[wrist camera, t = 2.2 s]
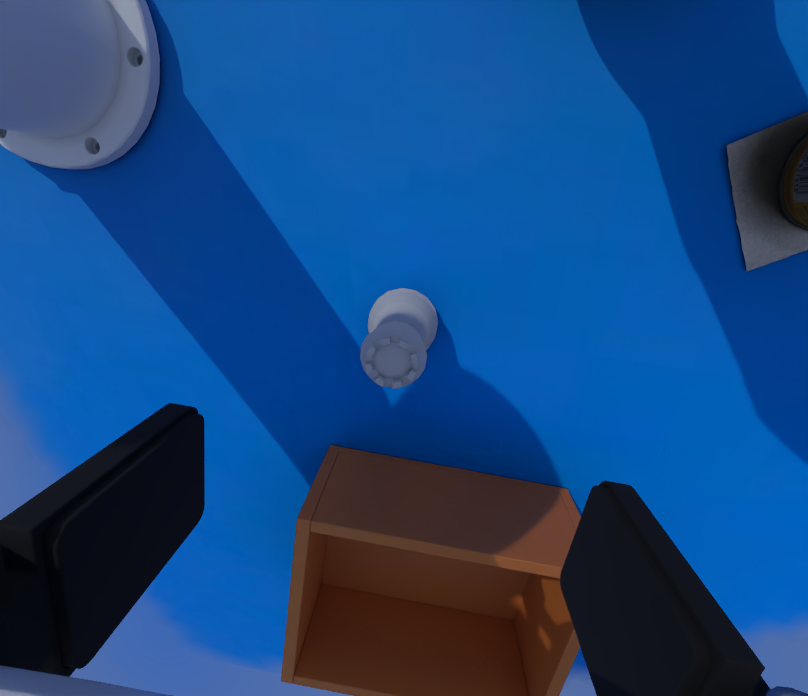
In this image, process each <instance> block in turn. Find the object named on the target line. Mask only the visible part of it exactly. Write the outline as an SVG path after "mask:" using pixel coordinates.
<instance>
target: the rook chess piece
mask: <svg viewBox="0 0 808 696" xmlns="http://www.w3.org/2000/svg"><path fill="white" fill-rule="evenodd" d="M437 326H438V318H437V314H436V309H435V308H434V306H433V305H432V303H431V302H430V301H429V299H428V298H427V297H426V296H424V295H422V294H421V293H419V292H417V291H416V290H411V289H405V288H399V289H395V290H391V291H388V292H386V293H385V294H383V295H382V296H381V297H379V298H378V299H377V300H376V302H375V304H374V305H373V307H372V309H371V310H370V314H369V320H368V330H369V334H368V335H367V337H366V338H365V340H364V342H363V343H362V345H361V353H360V360H361V363H362V366H363V370H364V371H365V372H366V373H367V375H368V376H369V377H370V378H371V379H372V380H373V381H374V383H376V384H378V385H380V386H381V387H383V386H387V387H392V388H393V389H395V388H400V387H403V386H407V385H409V384H411V383H412V382H414V381H415V380H417V379H418V378H419V377H420V375H421V374H422V372H423V371H424V369H425V366H426V360H427V353H426V350H427V349H428V348H429V346H430V345H431V343H432V342H433V340H434V339H435V335H436V332H437Z"/></svg>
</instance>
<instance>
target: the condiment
mask: <svg viewBox="0 0 808 696" xmlns="http://www.w3.org/2000/svg"><path fill="white" fill-rule="evenodd" d="M727 153H728V159H729V162H728V167H729V171H730V179H731V184H732V194H733V199H734V205H735V210H736V216H737V220H736V223H737V225H738V228H739V231H740V236H741V244H742V251H743V253H744V258H745V263H746V269H747V271H750V270H753V269H755V268H759V267H762V266H764V265H767V264H769V263H772V262H775V261H778V260H781V259H784V258H787V257H789V256H791V255H794V254H797V253H800V252H803V251H806V250H808V111H807V112H805V113H802V114H800V115H798V116H795V117H793V118H791V119H788V120H785V121H783V122H781V123H778V124H776V125H774V126H771V127H769V128H766V129H764V130H762V131H759V132H757V133H755V134H752V135H750V136H748V137H745V138H743V139H740V140H738V141H736V142H733V143H731V144H728V145H727Z"/></svg>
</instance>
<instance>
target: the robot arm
mask: <svg viewBox="0 0 808 696" xmlns="http://www.w3.org/2000/svg"><path fill="white" fill-rule="evenodd" d="M159 85H160V56H159V49H158V42H157V35H156V31H155V28H154V24H153V21H152V17H151V14H150V11H149V7H148V5H147V3H146V1H145V0H0V145H2V146H3V147H4V148H6V149H7V150H9V151H10V152H12V153H14V154H16V155H18V156H20V157H22V158H25V159H27V160H29V161H31V162H35V163H38V164H42V165H45V166H49V167H55V168H63V169H71V170H75V169H92V168H95V167H99V166H103V165H106V164H109V163H111V162H112V161H114V160H116V159H118V158H119V157H121V156H123V155H124V154H125V153H126V152H127V151H128V150H129V149H131V148H132V147H133V146H134V145H135V144H136V143H137V142H138V140H139V139H140V137H141V136H142V134H143V132H144V131H145V129H146V128H147V126H148V124H149V122H150V119H151V116H152V114H153V111H154V109H155V106H156V101H157V95H158V90H159ZM203 511H204V418H203V416H202V415H200V414H198V411H197V409H196V408H195V407H190V406H184V405H179V404H173V403H169V404H167V405H166V406H164V407H163V408H161V409H160V410H158V411H157V412H155V413H154V414H153V415H151V416H150V417H148V418H147V419H145V420H144V421H143V422H141V423H140V424H138V425H137V426H135V427H134V428H132V429H131V430H130V431H128V432H127V433H125V434H124V435H122V436H121V437H120V438H118V439H117V440H115V441H114V442H112V443H111V444H109V445H108V446H107V447H105V448H104V449H102V450H101V451H99V452H98V453H97V454H95V455H94V456H92V457H91V458H89V459H88V460H86V461H85V462H84V463H82V464H81V465H79V466H78V467H76V468H75V469H74V470H72V471H71V472H69V473H68V474H66V475H65V476H63V477H62V478H61V479H59V480H58V481H56V482H55V483H53V484H52V485H51V486H49V487H48V488H46V489H45V490H43V491H42V492H40V493H39V494H38V495H36V496H35V497H33V498H32V499H30V500H29V501H28V502H26V503H25V504H24V505H22V506H20V507H19V508H17V509H16V510H15V511H13V512H12V513H10V514H9V515H7V516H6V517H5V518H3V519H2V520H0V696H171V695H165V694H160V693H155V692H150V691H144V690H139V689H134V688H128V687H123V686H118V685H112V684H107V683H102V682H97V681H91V680H84V679H79V678H73V677H70V675H71V674H72V673H73V672H74V670H75V669H76V668H78V669H80V668H83V667H84V666H86V665H87V664H88V663H89V662H90V661H91V659H92V658H93V657H94V656H95V655H96V653H97V652H98V651H99V649H100V648H101V647H102V646H103V644H104V643H105V642H106V640H107V639H108V638H109V637H110V635H111V634H112V633H113V631H114V630H115V629H116V628H117V626H118V625H119V624H120V622H121V621H122V620H123V619H124V617H125V616H126V615H127V613H128V612H129V611H130V610H131V608H132V607H133V606H134V604H135V603H136V602H137V601H138V599H139V598H140V597H141V595H142V594H143V593H144V592H145V590H146V589H147V588H148V586H149V585H150V584H151V583H152V581H153V580H154V579H155V577H156V576H157V575H158V574H159V572H160V571H161V570H162V568H163V567H164V566H165V565H166V563H167V562H168V561H169V560H170V558H171V557H172V556H173V554H174V553H175V552H176V551H177V549H178V548H179V547H180V545H181V544H182V543H183V542H184V540H185V539H186V538H187V536H188V535H189V534H190V533H191V531H192V530H193V529H194V527H195V526H196V525H197V524H198V522H199V521H200V519H201V517H202V514H203ZM560 586H561V590H562V594H563V596H564V599H565V602H566V605H567V608H568V611H569V614H570V617H571V620H572V623H573V626H574V629H575V632H576V635H577V638H578V641H579V644H580V647H581V650H582V653H583V656H584V659H585V662H586V665H587V668H588V671H589V674H590V677H591V680H592V682H593V685H594V688H595V691H596V694H597V696H808V694H806V693H803V692H801V691H798V690H795V689H793V688H788V687H778V686H777V687H775V688H773V689H770V688H769V687H768V685H767V684H766V682H765V681H764V680H763V678H762V677H761V674H762V672H763V671H764V669H765V667H764V666H763V665H762V663H761V662H760V661H759V659H758V658H757V656H756V655H755V654H754V652H753V651H752V650H751V648H750V647H749V646H748V644H747V643H746V641H745V640H744V639H743V637H742V636H741V635H740V633H739V632H738V630H737V629H736V628H735V626H734V625H733V624H732V622H731V621H730V620H729V618H728V617H727V615H726V614H725V613H724V611H723V610H722V609H721V607H720V606H719V604H718V603H717V602H716V600H715V599H714V598H713V596H712V595H711V594H710V592H709V591H708V589H707V588H706V587H705V585H704V584H703V583H702V581H701V580H700V578H699V577H698V576H697V574H696V573H695V572H694V570H693V569H692V568H691V566H690V565H689V563H688V562H687V561H686V559H685V558H684V557H683V555H682V554H681V552H680V551H679V550H678V548H677V547H676V546H675V544H674V543H673V542H672V540H671V539H670V537H669V536H668V535H667V533H666V532H665V531H664V529H663V528H662V526H661V525H660V524H659V522H658V521H657V520H656V518H655V517H654V516H653V514H652V513H651V511H650V510H649V509H648V507H647V506H646V505H645V503H644V502H643V500H642V499H641V498H640V496H639V495H638V494H637V492H636V491H635V490H634V488H633V487H632V486H630V485H626V484H621V483H615V482H609V481H603V482H601V483H600V485H599V486H594V487H593V488H592V489H591V491H590V494H589V497H588V500H587V502H586V505H585V508H584V510H583V513H582V516H581V519H580V521H579V524H578V527H577V530H576V532H575V535H574V538H573V540H572V543H571V546H570V549H569V551H568V554H567V557H566V559H565V562H564V565H563V568H562V570H561V574H560Z"/></svg>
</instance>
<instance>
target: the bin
mask: <svg viewBox="0 0 808 696" xmlns="http://www.w3.org/2000/svg"><path fill="white" fill-rule="evenodd" d="M580 519H581V516H580V514H579V511H578V509H577V507H576V505H575V503H574V501H573V499H572V497H571V495H570V493H569V491H568V489H567V488H561V487H556V486H551V485H545V484H540V483H534V482H529V481H524V480H518V479H513V478H507V477H502V476H496V475H491V474H486V473H480V472H475V471H469V470H464V469H458V468H453V467H448V466H442V465H437V464H431V463H426V462H421V461H415V460H410V459H404V458H399V457H393V456H388V455H383V454H377V453H372V452H366V451H361V450H356V449H350V448H345V447H339V446H334V445H330V447H329V449H328V451H327V453H326V455H325V458H324V460H323V462H322V464H321V466H320V469H319V471H318V473H317V475H316V477H315V480H314V482H313V484H312V486H311V488H310V491H309V493H308V495H307V497H306V499H305V502H304V504H303V506H302V508H301V511H300V513H299V515H298V517H297V523H296V533H295V543H294V553H293V564H292V574H291V584H290V594H289V604H288V614H287V625H286V635H285V645H284V655H283V665H282V676H281V681H282V682H287V683H293V684H297V685H302V686H307V687H312V688H317V689H323V690H328V691H333V692H338V693H343V694H349V695H354V696H559V694H560V692H561V690H562V688H563V685H564V683H565V681H566V678H567V676H568V674H569V672H570V669H571V667H572V665H573V662H574V660H575V658H576V656H577V653H578V651H579V649H580V644H579V641H578V638H577V635H576V632H575V629H574V626H573V623H572V620H571V617H570V614H569V611H568V608H567V605H566V602H565V599H564V596H563V594H562V590H561V586H560V574H561V570H562V568H563V565H564V562H565V559H566V557H567V554H568V551H569V549H570V546H571V543H572V540H573V538H574V535H575V532H576V530H577V527H578V524H579V521H580Z"/></svg>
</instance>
